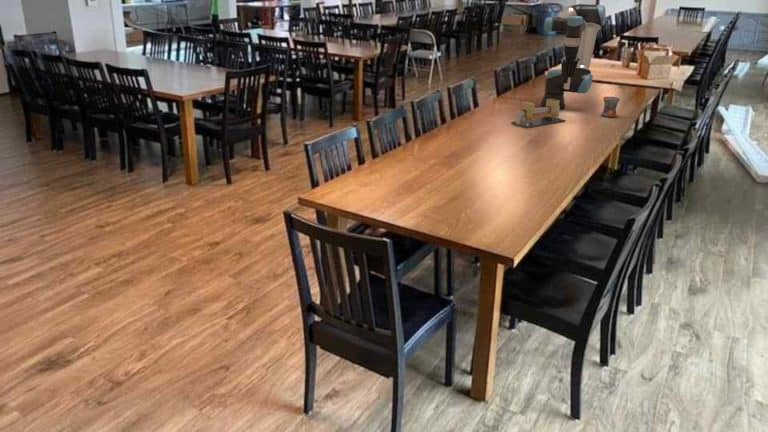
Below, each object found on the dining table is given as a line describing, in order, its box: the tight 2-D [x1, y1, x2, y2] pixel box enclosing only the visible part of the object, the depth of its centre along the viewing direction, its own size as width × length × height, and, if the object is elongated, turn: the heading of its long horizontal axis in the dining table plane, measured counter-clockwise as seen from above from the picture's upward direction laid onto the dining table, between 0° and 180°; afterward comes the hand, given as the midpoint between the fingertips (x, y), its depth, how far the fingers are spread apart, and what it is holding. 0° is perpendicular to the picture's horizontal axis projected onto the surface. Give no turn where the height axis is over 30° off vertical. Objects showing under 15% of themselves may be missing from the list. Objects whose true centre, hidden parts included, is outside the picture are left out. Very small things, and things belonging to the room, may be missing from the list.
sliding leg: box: [544, 98, 560, 119], centre depth 344 cm, size 7×4×10 cm, turn 32°
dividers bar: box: [515, 101, 560, 125], centre depth 339 cm, size 7×30×11 cm, turn 122°
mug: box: [601, 96, 621, 118], centre depth 358 cm, size 12×9×11 cm
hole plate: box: [510, 115, 567, 129], centre depth 341 cm, size 12×30×2 cm, turn 122°
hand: (566, 88), depth 342 cm, fingers closed
